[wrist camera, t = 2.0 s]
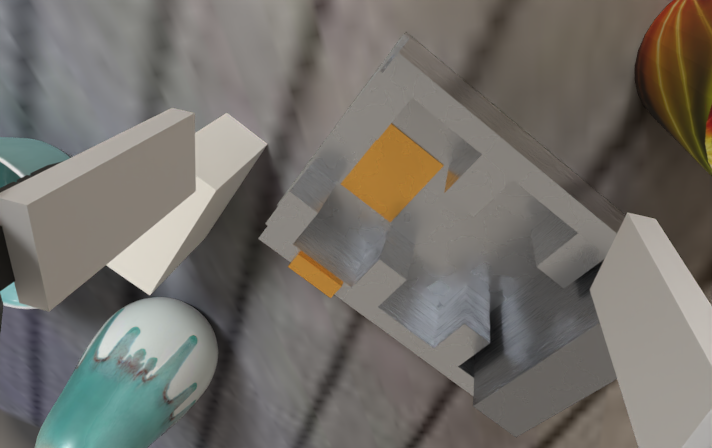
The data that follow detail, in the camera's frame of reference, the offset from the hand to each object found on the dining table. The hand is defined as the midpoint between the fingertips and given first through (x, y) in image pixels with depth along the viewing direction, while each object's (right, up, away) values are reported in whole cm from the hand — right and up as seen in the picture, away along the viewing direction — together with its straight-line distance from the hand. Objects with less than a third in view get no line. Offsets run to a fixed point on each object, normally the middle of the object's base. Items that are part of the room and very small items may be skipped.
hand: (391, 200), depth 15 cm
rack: (+8, -1, +24) cm, 26 cm away
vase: (-20, -11, +38) cm, 44 cm away
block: (-13, +3, +28) cm, 31 cm away
